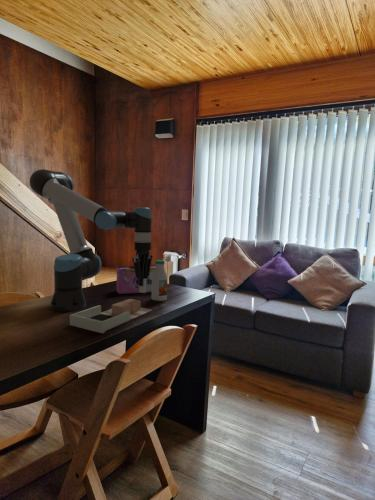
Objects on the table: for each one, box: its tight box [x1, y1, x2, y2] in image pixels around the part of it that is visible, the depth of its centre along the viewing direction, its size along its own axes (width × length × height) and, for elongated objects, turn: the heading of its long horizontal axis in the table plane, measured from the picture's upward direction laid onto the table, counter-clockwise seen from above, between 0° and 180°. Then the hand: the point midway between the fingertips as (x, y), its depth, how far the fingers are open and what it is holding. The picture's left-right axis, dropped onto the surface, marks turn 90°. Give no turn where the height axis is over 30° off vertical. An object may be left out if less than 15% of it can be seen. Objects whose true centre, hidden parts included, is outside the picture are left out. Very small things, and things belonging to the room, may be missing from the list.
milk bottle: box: [150, 259, 168, 302], centre depth 173 cm, size 8×8×20 cm
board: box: [100, 307, 153, 321], centre depth 151 cm, size 17×16×1 cm
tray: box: [69, 304, 131, 334], centre depth 136 cm, size 16×16×4 cm
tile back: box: [121, 298, 142, 313], centre depth 153 cm, size 6×6×4 cm
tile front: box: [111, 301, 132, 315], centre depth 148 cm, size 6×6×4 cm
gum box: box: [116, 264, 156, 295], centre depth 190 cm, size 24×8×14 cm, turn 112°
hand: (142, 292), depth 160 cm, fingers closed
